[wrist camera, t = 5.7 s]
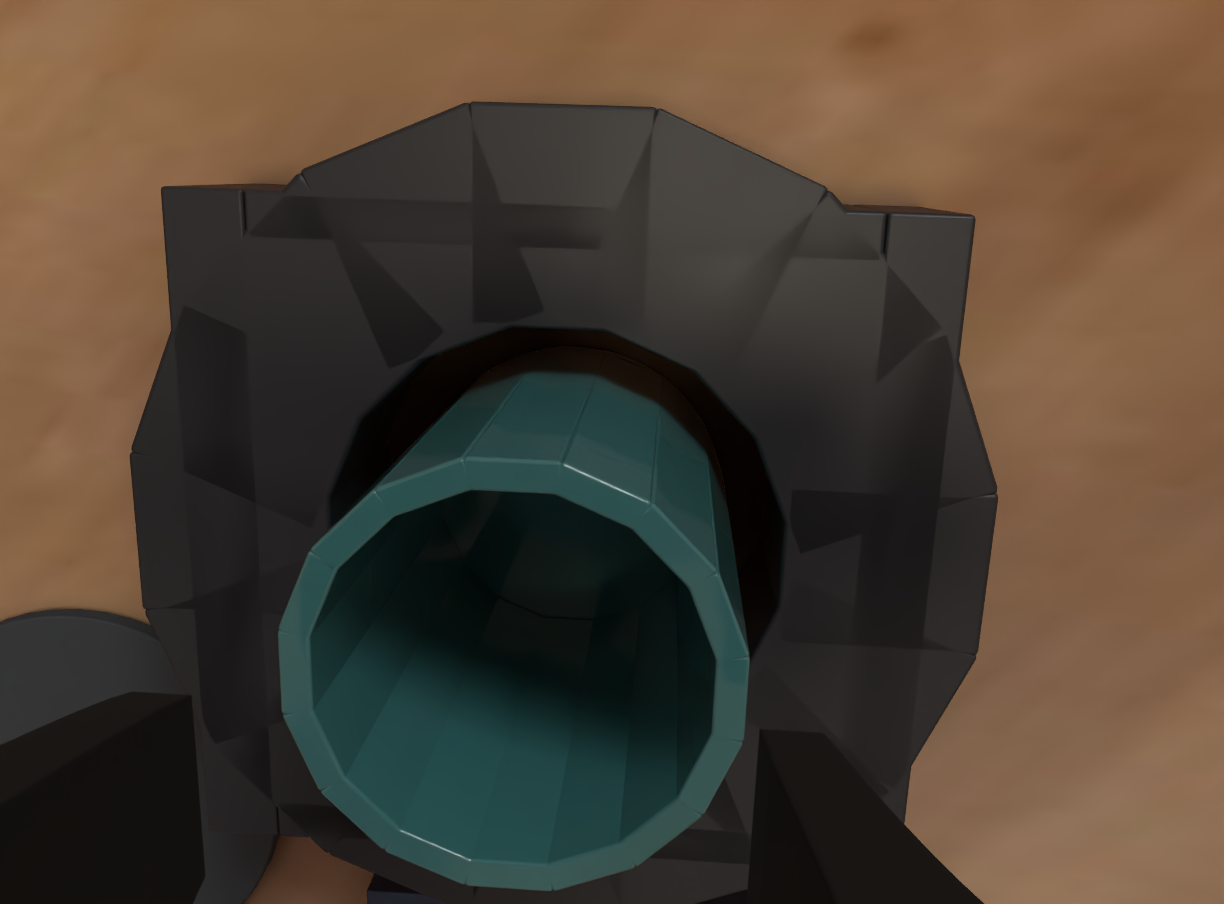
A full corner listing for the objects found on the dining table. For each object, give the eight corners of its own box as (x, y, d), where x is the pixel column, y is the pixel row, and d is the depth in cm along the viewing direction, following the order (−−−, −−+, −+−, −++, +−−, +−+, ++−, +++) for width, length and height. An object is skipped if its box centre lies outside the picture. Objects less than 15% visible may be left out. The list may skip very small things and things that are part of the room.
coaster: (-60, 929, 24) (-72, 942, 23) (-110, 597, 22) (-125, 605, 21) (291, 955, 23) (284, 968, 23) (273, 619, 21) (265, 627, 21)
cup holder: (243, 785, 22) (166, 894, 19) (199, 104, 19) (96, 89, 16) (899, 827, 22) (940, 947, 18) (981, 128, 18) (1049, 118, 15)
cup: (430, 618, 21) (288, 875, 13) (427, 339, 20) (266, 447, 12) (712, 634, 21) (733, 906, 13) (730, 352, 19) (764, 471, 12)
